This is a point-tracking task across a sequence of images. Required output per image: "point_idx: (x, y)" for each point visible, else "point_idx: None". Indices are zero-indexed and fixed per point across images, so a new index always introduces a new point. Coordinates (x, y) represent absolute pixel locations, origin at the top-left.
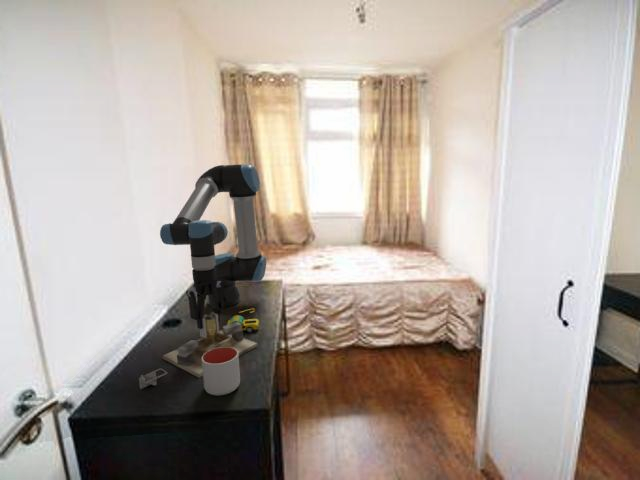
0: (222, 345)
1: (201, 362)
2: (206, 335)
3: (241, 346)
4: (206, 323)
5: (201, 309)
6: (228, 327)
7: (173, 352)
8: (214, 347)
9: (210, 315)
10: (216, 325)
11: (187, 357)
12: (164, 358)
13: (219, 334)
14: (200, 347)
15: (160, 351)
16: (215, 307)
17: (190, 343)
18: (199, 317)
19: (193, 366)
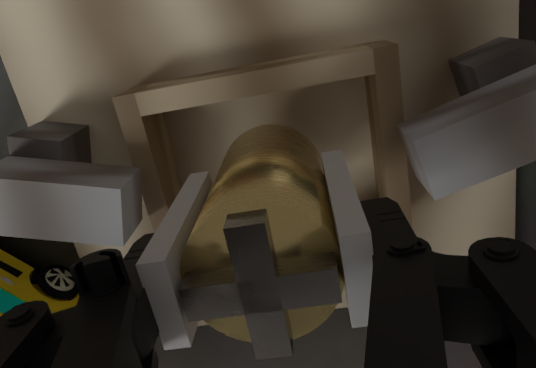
0: (219, 75)
1: (412, 24)
2: (323, 158)
3: (93, 31)
4: (319, 209)
5: (425, 345)
6: (89, 196)
7: None
8: (293, 61)
9: (232, 285)
10: (196, 203)
11: (532, 48)
12: None
13: None
14: None
15: (465, 354)
16: (121, 344)
17: (476, 148)
18: (432, 264)
19: (479, 11)
